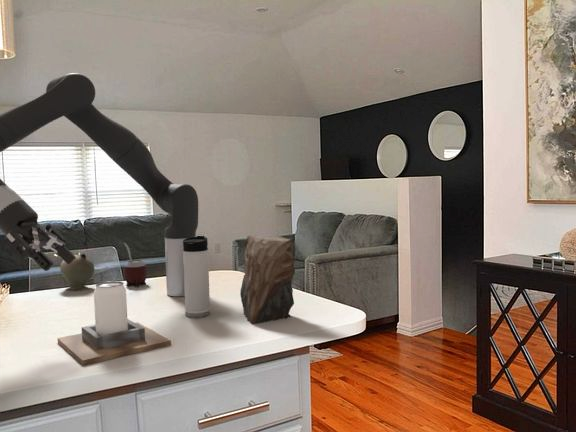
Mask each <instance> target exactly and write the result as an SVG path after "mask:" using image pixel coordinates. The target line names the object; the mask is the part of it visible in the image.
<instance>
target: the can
mask: <svg viewBox="0 0 576 432" xmlns="http://www.w3.org/2000/svg"><path fill="white" fill-rule="evenodd" d="M124 283H125V282H123V281H120V280H119V281H117V280H110V281H103V282H100V283H96V284H95V289H94V291H93V299H94V300H93V302H94V303H93V304H94V320H95V321H94V323H95V324H94V325H96V333H98V334H99V335H106V334H111V333H115V332H120V331H125V330H128V320H127V319H128V301H127V299H128V298H127V289H126V287H125V286H124V285H125V284H124Z"/></svg>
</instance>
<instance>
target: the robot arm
mask: <svg viewBox="0 0 576 432" xmlns="http://www.w3.org/2000/svg"><path fill="white" fill-rule="evenodd" d="M45 90H46V91H45V93H43V94H41V95H40V96H37V97H36V98H34V99H32V100H30V101H28V102H25V103H24V104H20V105H18V106H15V107H14V108H12V109H9V110H7V111H4V112H3V113H1V114H0V153H1V152H4V151H5V150H7V149H9V148H10V147H12V146H14V145H15V144H17V143H19V142H20V141H22V140H23V139H25V138H28V137H29V136H30V135H33V133H35V132H37V131H38V130H40V129H41V128H43V127H45V126H46V125H49V124H50V123H52V122H54V121H56V120H58V119H60V118H62V117H65V118H66V119H67V120H68V121H70V122H71V123H72V124H74V125H75V126H76V127H77V128H79V129H80V130H81V131H83V133H85V134H86V135H87V136H88V138H89V139H90V140H92V141H93V142H94V144H96V145H97V147H99V148H100V149H101V150H102V151H103V152H104V153H105V154H106V155H107V156H108V157H109V158H110V159H111V160H112V161H113V162H114V163H115V164H116V165H117V166H118V167H119V168H120V169H122V170H123V171H124V172H125V173H126V174H127V175H128V176H129V177H131V178H132V180H134V182H136V183H137V184H138V185H140V186H141V187H142V188H143V190H145V192H146V193H147V194H148V195H149V196H150V198H151V199H152V200H153V201H154V202H155V203H156V205H158V207H159V208H160V209H161V210H162V211H163V212H165V213H167V214H169V215H171V223H170V225H168V226H167V227H165V229H164V248H165V249H164V251H165V255H164V256H165V276H166V283H165V284H166V295H167V296H170V297H171V296H172V297H185V290H184V262H183V248H184V247H183V240H184V239H187V238H192V237H197V234H196V232H197V230H198V226H199V197H198V192H197V190H196V189H195V188H194V187H193V186H192V185H190V184H187V183H174V182H172V181H171V180H169V179H168V178H167V177H166V175H164V174H163V173H162V172H161V171H160V170H159V168H158V167H157V165H156V163H155V160H154V157H153V155H152V153H151V151H150V150H149V148H148V147H147V146H146V145H145V143H144V142H143V141H142V140H140V138H139V137H138V136H137V135H136V134H135V133H134V132H133V131H131V130H130V129H129V128H127V127H125V126H124V125H123V124H120V123H118V122H117V121H115V120H114V119H112V118H110V117H108V116H106V115H105V114H103V113H102V112H101V111H100V110H99V109H97V108H96V106H95V105H94V104H93V103H94V101H95V98H96V88H95V85H94V83H93V81H92V80H91V79H90V78H89V77H87V76H86V75H84V74H81V73H79V72H71V73H67V74H62V75H61V76H58V77H55V78H54V79H52V80H50V81H49V82H48V83H47V86H46V89H45ZM38 219H39V214H38V213H37V212H36V211H35V210H34V209H33V208H32V207H31V206H30V205H29V204H28V203H27V202H26V201H25V200H24V199H23V198H22V197H21V196H20V195H19V194H18V193H17V192H16V191H15V190H13V188H11V187H9V185H7V184H6V183H5V181H3V180H2V179H1V178H0V231H1V232H2V233H3V234H4V235H5V236H4V241H5V242H6V243H7V244H8V245H9V246H10V247H11V248H12V249H13V250H14V251H15V252H16V254H17V255H18V256H19V257H20V258H21V259H26V258H28V259H29V260H33V261H34V262H35V263H37V265H38V266H39V267H40V268H41V269H42V270H43V271H44V272H49V271H50V270H51V269H52V267H53V266H54V264H55V263H54V262H53V261H52V260H51V259H50V258H49V256H48V255H46V254H45V253H44V252H43V251H42V250H41V248H43V249H45V250H51V251H53V252H55V253H56V254H57V255H58V256H59V257H60V258H61V259H62V261H63V260H64V261H65V262H66V263H67V264H70V263H72V262H73V261H74V260H75V258H76V257H75V256H74V255H75V254H74V253H72V251H71V250H70V249H69V248H68V247H67V246H66V244H68V242H69V240H68V239H67V238H66V237H65V236H64V235H63V234H62V233H60V231H58V230H57V229H56V228H55V227H54V226H53V225H52V224H50V223H48V224H46V225H45V226H42V225H41V224H40V223H38ZM21 247H22V248H21Z"/></svg>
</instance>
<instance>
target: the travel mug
mask: <svg viewBox="0 0 576 432" xmlns="http://www.w3.org/2000/svg"><path fill="white" fill-rule="evenodd" d="M208 243H209V242H208V238H207V237H205V235H196V237H192V238H187V239H184V240H183V247H184V248H183V262H184V290H185V296H184V311H185V312H184V313H185V316H186V317H187V318H194V319H195V318H196V319H197V318H199V319H200V318H204V317H207V316H209V315H210V314H211V303H210V301H211V300H210V299H211V298H210V276H209V275H210V272H209V265H210V264H209V252H208V251H209V248H208Z"/></svg>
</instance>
